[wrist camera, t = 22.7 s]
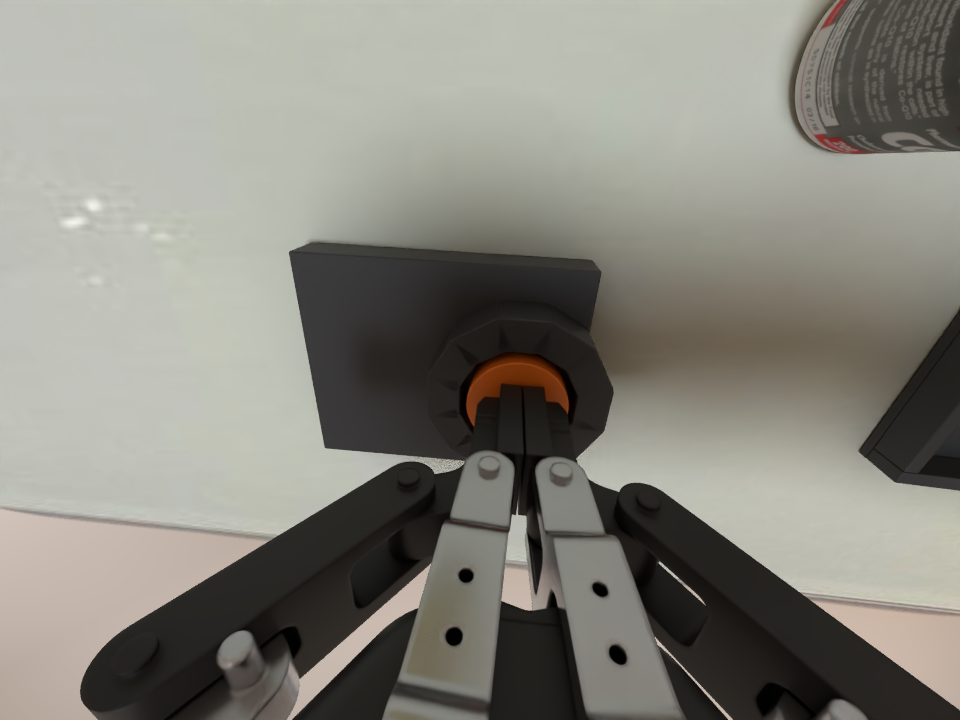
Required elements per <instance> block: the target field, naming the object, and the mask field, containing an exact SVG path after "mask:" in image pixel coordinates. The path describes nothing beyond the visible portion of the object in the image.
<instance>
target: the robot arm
mask: <svg viewBox="0 0 960 720" xmlns="http://www.w3.org/2000/svg"><path fill="white" fill-rule="evenodd" d="M517 503H518V515H525V516H527V528H526V535H525V546H526V554H527V563H528V572H529V581H530V590H531V599H532V611H527V610H523V609H520V608H518V607H515V606H513V605H510V604H507V603H505V602H502V601H501V598H502V588H503V578H504V569H505V560H506V550H507V540H508V533H509V531H510V525H511V517H512V514H513V515H516V510H517ZM659 561H660V562H661V563H663V564H664V565H665V566H666V567H667V568H668V569H669V570H670V571H672V572H673V573H674V574H675V575H676V576H677V577H678V578H680V579H681V580H682V581H683V582H684V583H685V584H686V585H687V586H689V587H690V588H691V589H692V590H693V591H694V592H695V593H696V594H698V595H699V597H700V598H701V599H702V600H703V602H704V603H705V605H706V606H705V605H704V604H703V603H702V602H701V601H700V600H698V598H696V597H695V596H694V595H693V594H692V593H691V592H690V591H688V590H687V589H686V588H685V587H684V586H683V585H682V584H681V583H680V582H679V581H677V580H676V579H675V578H674V577H673V576H672V575H671V574H670V573H668V572H667V571H666V570H665V569H664V568H663V567H662V566H661V565H660V564H658V563H659ZM431 562H432V563H431ZM430 563H431V566H430V570H429V573H428V577H427V580H426V584H425V588H424V591H423V594H422V598H421V601H420V605H419V608H417V609H415V610H413V611H410V612H408V613H406V614H404V615H403V616H401V617H399V618H398V619H396V620H395V621H394V622H392V623H391V624H389V625H388V626H387V627H386V628H385V629H383V630H382V631H381V632H380V633H379V634H378V635H377V636H376V637H375V638H374V639H373V640H372V641H371V642H370V643H369V644H368V645H367V646H366V647H365V648H364V649H363V650H362V651H361V652H360V653H359V654H358V655H357V656H356V657H355V658H354V659H353V660H352V661H351V662H350V663H349V664H348V665H347V666H346V667H345V668H344V669H343V670H342V671H341V672H340V673H339V674H338V675H337V676H336V677H335V678H334V679H333V680H332V681H331V682H330V683H329V684H328V685H327V686H326V687H325V688H324V689H323V690H322V691H320V693H318V694H317V695H316V696H315V697H314V698H313V700H311V701H310V702H309V703H308V704H307V705H306V706H305V708H303V709H302V710H301V711H300V712H299V714H297V715H296V716H295V717H294V718H293V719H292V720H728V719H727V718H726V717H725V716H724V714H723V713H722V712H721V711H720V710H719V709H718V708H717V707H716V705H715V704H714V703H713V702H712V701H711V700H710V699H709V698H708V697H707V695H706V694H705V693H704V692H703V691H702V690H701V689H700V688H699V686H698V685H697V684H696V683H695V682H694V681H693V680H692V679H691V678H690V677H689V676H688V674H687V673H686V672H685V671H684V670H683V669H682V667H681V666H679V664H678V663H677V662H676V661H675V660H674V659H673V658H672V657H671V656H669V654H668V653H666V652H665V651H664V650H663V649H662V648H661V647H659V646H658V645H657V642H656V639H655V637H656V638H657V639H658V640H659V642H660V643H661V644H662V645H663V646H665V648H666V649H667V650H668V651H669V652H670V653H671V654H672V655H673V656H674V657H675V658H676V660H677V661H678V662H679V663H680V664H681V665H682V666H683V667H684V668H685V669H686V670H687V671H688V672H689V673H690V674H691V675H692V676H693V678H694V679H695V680H696V681H697V682H698V683H699V684H700V685H701V686H702V687H703V688H704V689H705V690H706V691H707V692H708V693H709V694H710V696H712V698H713V699H714V700H715V701H716V702H717V703H718V704H719V705H720V706H721V707H722V708H723V709H724V710H725V711H726V712H727V713H728V715H729V716H730V717H731V718H732V719H733V720H960V711H959V709H957V708H956V707H954V706H953V705H952V704H950V703H949V702H948V701H946V700H945V699H944V698H942V697H941V696H940V695H938V694H937V693H935V692H934V691H933V690H931V689H930V688H929V687H927V686H926V685H925V684H923V683H922V682H920V681H919V680H918V679H916V678H915V677H914V676H912V675H911V674H910V673H908V672H907V671H906V670H904V669H903V668H901V667H900V666H899V665H897V664H896V663H895V662H893V661H892V660H891V659H889V658H888V657H886V656H885V655H884V654H882V653H881V652H880V651H878V650H877V649H876V648H874V647H873V646H872V645H870V644H869V643H867V642H866V641H865V640H863V639H862V638H861V637H859V636H858V635H857V634H855V633H854V632H853V631H851V630H850V629H848V628H847V627H846V626H844V625H843V624H842V623H840V622H839V621H838V620H836V619H835V618H834V617H832V616H831V615H829V614H828V613H827V612H825V611H824V610H823V609H821V608H820V607H819V606H817V605H816V604H815V603H813V602H812V601H810V600H809V599H808V598H806V597H805V596H804V595H802V594H801V593H800V592H798V591H797V590H796V589H794V588H793V587H791V586H790V585H789V584H787V583H786V582H785V581H783V580H782V579H781V578H779V577H778V576H777V575H775V574H774V573H772V572H771V571H770V570H768V569H767V568H766V567H764V566H763V565H762V564H760V563H759V562H757V561H756V560H755V559H753V558H752V557H751V556H749V555H748V554H747V553H745V552H744V551H743V550H741V549H740V548H738V547H737V546H736V545H734V544H733V543H732V542H730V541H729V540H728V539H726V538H725V537H724V536H722V535H721V534H719V533H718V532H717V531H715V530H714V529H713V528H711V527H710V526H709V525H707V524H706V523H705V522H703V521H702V520H700V519H699V518H698V517H696V516H695V515H694V514H692V513H691V512H690V511H688V510H687V509H686V508H684V507H683V506H681V505H680V504H679V503H677V502H676V501H675V500H673V499H672V498H671V497H669V496H668V495H666V494H665V493H664V492H662V491H661V490H659V489H657V488H655V487H653V486H651V485H647V484H643V483H630V484H627V485H625V486H623V487H622V488H621V490H620V492H617V491H614V490H611V489H608V488H605V487H602V486H600V485H598V484H596V483H594V482H592V481H591V480H589V479H588V478H587V475H586V473H585V471H584V470H583V468H582V467H581V466H580V465H578V464H577V460H576V455H575V450H574V445H573V440H572V436H571V432H570V426H569V421H568V416H567V412H566V411H565V409H564V408H563V407H562V406H561V405H560V403H559V402H548V401H546V397H545V389H544V387H539V386H527V385H523V387H522V386H521V385H513V384H501V387H500V398H498V397H486V396H485V397H484V398H483V399H482V400H481V401H480V402H479V403H478V404H477V410H476V416H475V424H474V430H473V436H472V443H471V450H470V455H469V457H468V458H467V459H466V461H465V463H464V465H462V466H461V467H460V468H458V469H456V470H453V471H450V472H446V473H440V474H434V472H433V470H432V469H431V468H430V467H428V466H427V465H425V464H423V463H419V462H403V463H400V464H397V465H395V466H393V467H391V468H389V469H388V470H386V471H384V472H383V473H381V474H380V475H378V476H376V477H375V478H373V479H371V480H370V481H368V482H366V483H365V484H363V485H361V486H360V487H358V488H356V489H355V490H353V491H351V492H350V493H348V494H347V495H345V496H343V497H342V498H340V499H338V500H337V501H335V502H333V503H332V504H330V505H328V506H327V507H325V508H323V509H322V510H320V511H318V512H317V513H315V514H313V515H312V516H310V517H309V518H307V519H305V520H304V521H302V522H300V523H299V524H297V525H295V526H294V527H292V528H290V529H289V530H287V531H285V532H284V533H282V534H280V535H279V536H277V537H276V538H274V539H272V540H271V541H269V542H267V543H266V544H264V545H262V546H261V547H259V548H257V549H256V550H254V551H252V552H251V553H249V554H248V555H246V556H244V557H243V558H241V559H239V560H238V561H236V562H234V563H233V564H231V565H229V566H228V567H226V568H224V569H223V570H221V571H219V572H218V573H216V574H215V575H213V576H211V577H209V578H208V579H206V580H205V581H203V582H201V583H200V584H198V585H197V586H195V587H193V588H191V589H190V590H188V591H186V592H185V593H183V594H182V595H180V596H178V597H176V598H175V599H173V600H172V601H170V602H168V603H167V604H165V605H164V606H162V607H160V608H158V609H157V610H155V611H154V612H152V613H150V614H148V615H147V616H145V617H144V618H142V619H140V620H139V621H137V622H135V623H134V624H132V625H130V626H129V627H127V628H126V629H124V630H123V631H121V632H120V633H119V634H117V635H116V636H115V637H114V638H113V639H111V640H110V641H109V642H108V643H107V644H106V645H105V646H104V647H103V648H102V649H101V651H100V652H99V653H98V654H97V655H96V657H95V658H94V659H93V660H92V662H91V664H90V665H89V667H88V668H87V670H86V672H85V675H84V677H83V680H82V683H81V689H80V694H81V700H82V701H83V704H84V705H85V706H86V707H87V708H88V709H89V710H90V711H91V712H92V714H93V715H94V716H95V717H96V718H97V719H98V720H287V718H288V716H289V715H290V713H291V711H292V710H293V707H294V705H295V703H296V700H297V697H298V693H299V686H300V685H299V679H300V678H301V677H302V676H304V674H306V673H307V672H308V671H309V670H310V669H312V668H313V667H314V666H315V665H316V664H317V663H318V662H319V661H320V660H322V659H323V658H324V657H325V656H326V655H327V654H328V653H330V652H331V651H332V650H333V649H334V648H335V647H337V646H338V645H339V644H340V643H341V642H342V641H343V640H345V639H346V638H347V637H348V636H349V635H350V634H351V633H352V632H354V631H355V630H356V629H357V628H358V627H359V626H360V625H362V624H363V623H364V622H365V621H366V620H367V619H368V618H369V617H371V616H372V615H373V614H374V613H375V612H376V611H377V610H379V609H380V608H381V607H382V606H383V605H384V604H385V603H387V602H388V601H389V600H390V599H391V598H392V597H393V596H394V595H396V594H397V593H398V592H399V591H400V590H401V589H402V588H404V587H405V586H406V585H407V584H408V583H409V582H410V581H412V580H413V579H414V578H415V577H416V576H417V575H418V574H419V573H421V572H422V571H423V570H424V569H425V568H426V567H427V566H429V565H430ZM654 636H655V637H654Z"/></svg>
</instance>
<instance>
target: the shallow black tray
mask: <svg viewBox="0 0 960 720" xmlns="http://www.w3.org/2000/svg"><path fill="white" fill-rule="evenodd" d="M859 453H860V454H862V455H863V456H864V457H865V458H867V459H868V460H869V461H870V462H871V463H873V464H874V465H875V466H876V467H877V468H879V469H880V470H881V471H882V472H883V473H885V474H886V475H887V476H888V477H889V478H890V479H892V480H893V481H894V482H896V483H903V484H912V485H920V486H928V487H936V488H944V489H952V490H960V313H959V314H958V315H957V317H956V318H955V319H954V321H953V322H952V324H951V325H950V326H949V328H948V329H947V331H946V332H945V333H944V335H943V336H942V338H941V339H940V340H939V342H938V343H937V344H936V346H935V347H934V349H933V350H932V351H931V353H930V354H929V356H928V357H927V358H926V360H925V361H924V363H923V364H922V365H921V367H920V368H919V370H918V371H917V372H916V374H915V375H914V376H913V378H912V379H911V381H910V382H909V383H908V385H907V386H906V388H905V389H904V390H903V392H902V393H901V395H900V396H899V397H898V399H897V400H896V402H895V403H894V404H893V406H892V407H891V408H890V410H889V411H888V413H887V414H886V415H885V417H884V418H883V420H882V421H881V422H880V424H879V425H878V427H877V428H876V429H875V431H874V432H873V433H872V435H871V436H870V438H869V439H868V440H867V442H866V443H865V445H864V446H863V447H862V449H861V450H860V452H859Z"/></svg>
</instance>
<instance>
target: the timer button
mask: <svg viewBox="0 0 960 720" xmlns="http://www.w3.org/2000/svg"><path fill="white" fill-rule="evenodd" d="M501 384H513V385H521V386H522V387H523V385H527V386H539V387H544V389H545V397H546V401H548V402H559V403H560V405H561V406H562V407H563V408H564V409H565V411H566V412H567V414H568V409H569V400H568V395H567V391H566V387H565V382H564V378H563V373H562V370H561V368H560V367H559V366H557V365H556V364H554V363H552V362H551V361H549V360H548V359H546V358H544V357H543V356H541V355H540V354H529V353H516V352H504V353H502V354H499V355H497V356H495V357H492V358H490V359H488V360H485V361H483V362H480V363H478V364H476V366H475V367H474V369H473V371H472V375H471V379H470V384H469V389H468V394H467V401H466V408H467V413H468V416H469V419H470V421H471V423H472V425H473V426H474V424H475V416H476V410H477V404H478V403H479V402H480V401H481V400H482V399H483V398H484V397H485V396H486V397H498V398H500V387H501Z"/></svg>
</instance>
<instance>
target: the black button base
mask: <svg viewBox="0 0 960 720" xmlns="http://www.w3.org/2000/svg"><path fill="white" fill-rule="evenodd" d="M289 255H290V261H291V266H292V271H293V277H294V282H295V288H296V293H297V299H298V304H299V310H300V315H301V320H302V326H303V331H304V337H305V342H306V348H307V353H308V359H309V364H310V369H311V375H312V380H313V386H314V391H315V397H316V402H317V408H318V413H319V418H320V424H321V429H322V435H323V440H324V446H325V448H329V449H340V450H351V451H363V452H374V453H385V454H396V455H407V456H418V457H429V458H440V459H451V460H462V461H466V459H467V458H468V457H469V455H470V450H471V443H472V436H473V430H474V426H473V425H472V423H471V421H470V419H469V416H468V413H467V408H466V401H467V394H468V389H469V384H470V379H471V375H472V371H473V369H474V367H475V366H476V364H478V363H480V362H483V361H485V360H488V359H490V358H492V357H495V356H497V355H499V354H502V353H504V352H516V353H529V354H540V355H541V356H543V357H544V358H546V359H548V360H549V361H551V362H552V363H554V364H556V365H557V366H559V367H560V368H561V370H562V373H563V378H564V382H565V387H566V391H567V395H568V400H569V409H568V414H567V416H568V421H569V426H570V432H571V436H572V440H573V445H574V450H575V455H576V458H577V457H578V456H579V455H580V454H581V453H582V452H583V451H584V450H585V449H586V448H587V447H588V446H590V445H591V444H592V443H593V442H594V441H595V440H596V439H597V438H598V437H599V436H600V435H601V434H602V433H603V431H604V430H605V426H606V422H607V418H608V414H609V409H610V405H611V401H612V397H613V393H614V392H613V387H612V385H611V382H610V380H609V378H608V375H607V373H606V371H605V368H604V366H603V363H602V361H601V359H600V356H599V354H598V352H597V349H596V347H595V345H594V342H593V340H592V338H591V336H590V328H591V323H592V318H593V313H594V308H595V303H596V297H597V292H598V287H599V282H600V277H601V271H600V270H599V268H598V267H597V266H596V265H595V263H594V262H593V261H592V260H579V259H563V258H548V257H532V256H516V255H500V254H484V253H468V252H452V251H436V250H420V249H405V248H389V247H373V246H357V245H341V244H325V243H309V244H307V245H304V246H302V247H299V248H297V249H294V250H292V251H290V252H289Z"/></svg>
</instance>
